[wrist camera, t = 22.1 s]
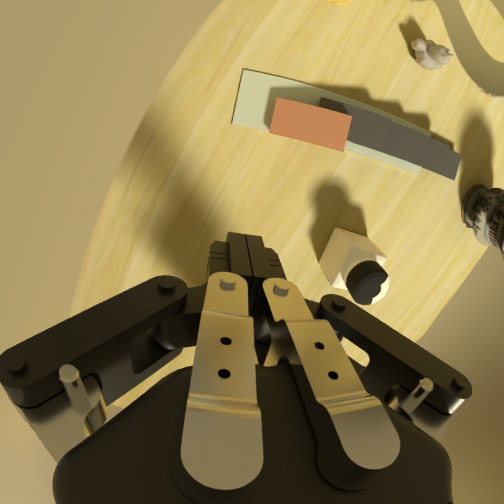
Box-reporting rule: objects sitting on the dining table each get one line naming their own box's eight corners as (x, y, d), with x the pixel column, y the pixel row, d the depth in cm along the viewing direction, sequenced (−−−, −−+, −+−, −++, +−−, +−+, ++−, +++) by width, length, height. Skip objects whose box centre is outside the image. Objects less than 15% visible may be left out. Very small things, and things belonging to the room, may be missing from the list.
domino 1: (278, 98, 35) (350, 116, 34) (271, 132, 38) (342, 150, 37) (276, 97, 34) (352, 116, 33) (269, 132, 36) (343, 152, 35)
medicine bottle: (317, 263, 49) (341, 307, 38) (334, 225, 46) (365, 263, 35) (351, 271, 50) (379, 313, 40) (368, 237, 47) (403, 274, 37)
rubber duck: (427, 77, 34) (459, 78, 27) (399, 53, 33) (429, 49, 26) (436, 55, 32) (467, 53, 25) (409, 31, 31) (439, 24, 24)
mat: (430, 132, 39) (431, 132, 39) (418, 175, 43) (419, 175, 42) (243, 69, 33) (243, 69, 33) (231, 124, 37) (231, 124, 37)
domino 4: (392, 123, 38) (445, 144, 37) (385, 153, 40) (438, 172, 39) (395, 123, 36) (449, 145, 35) (387, 154, 39) (442, 174, 37)
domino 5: (417, 134, 39) (455, 152, 41) (410, 162, 41) (448, 177, 43) (423, 136, 37) (461, 155, 39) (416, 165, 40) (454, 180, 41)
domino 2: (320, 98, 36) (387, 119, 35) (312, 130, 38) (379, 150, 37) (321, 96, 34) (390, 118, 33) (313, 130, 36) (382, 152, 36)
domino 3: (359, 111, 37) (419, 133, 36) (351, 142, 39) (411, 163, 38) (361, 110, 35) (423, 133, 34) (353, 143, 38) (415, 164, 37)
